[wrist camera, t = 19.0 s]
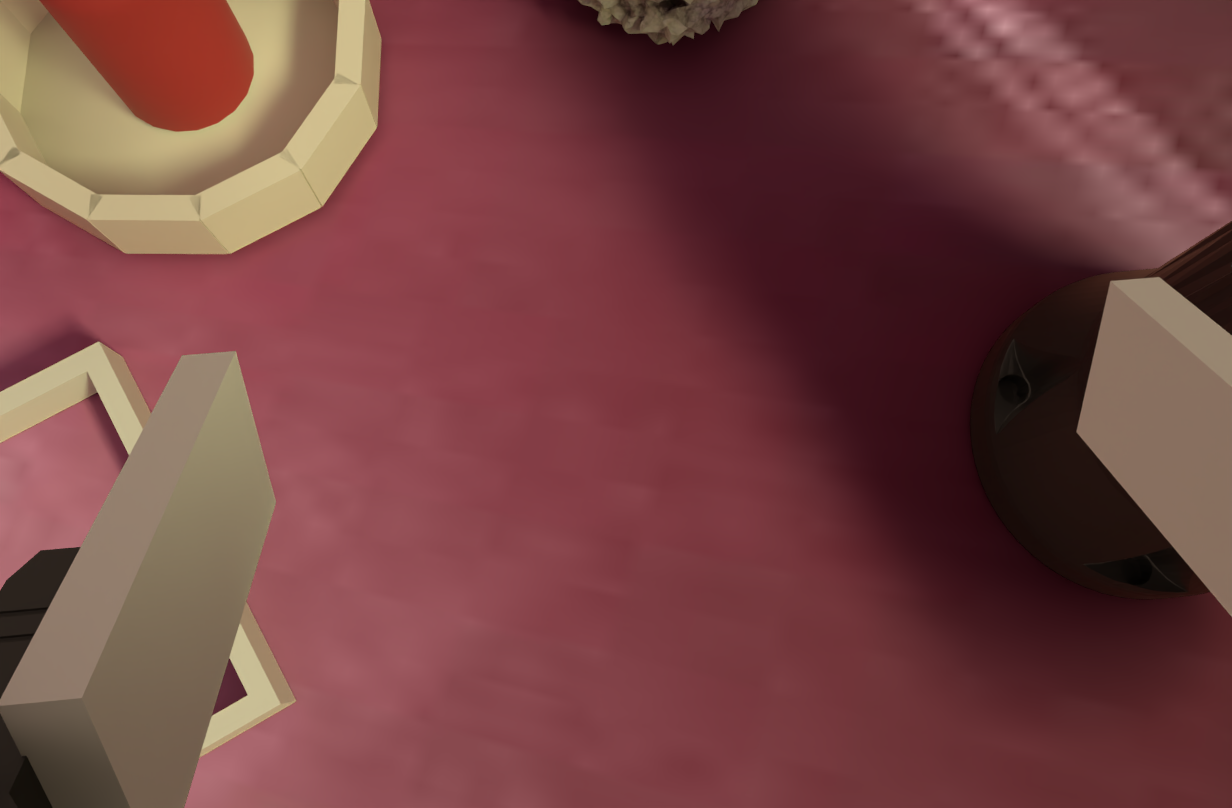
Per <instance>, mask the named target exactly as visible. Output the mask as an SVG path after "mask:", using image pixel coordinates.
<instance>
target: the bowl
mask: <svg viewBox="0 0 1232 808" xmlns="http://www.w3.org/2000/svg"><path fill="white" fill-rule="evenodd" d="M226 1H227V2H228V4H229V6H230V8H231V10H232V12H233V14H234V15H235V17H236V19H237V21H238V23H239V25H240V26H241V28H242V30H243V32H244V34H245V36H246V37H247V40H248V42H249V45H250V48H251V50H252V53H253V55H254V76H253V79H252V82H251V85H250V88H249V91H248V94H247V96H246V97H245V98H244V99H243V101H242V102H241V103H240V105H239V106H238V107H237V109H236V110H235V111H234V112H233V113H231V114H230V115H228V116H227V117H226V118H224V119H223V120H221V121H220V122H219V123H217V124H214V125H211V126H208V127H206V128H203V129H200V130H196V131H181V132H175V131H170V130H166V129H161V128H157V127H153V126H151V125H150V124H148V123H146V122H145V121H143V120H141V119H140V118H138V117H136V116H135V115H134V114H133V112H132V111H131V110H130V109H129V108H128V107H127V105H126V104H125V103H124V102H123V101H122V99H121V98H120V97H119V96H118V95H117V93H116V92H115V91H114V90H113V89H112V87H111V86H110V85H109V84H108V83H107V81H106V80H105V79H104V78H103V77H102V75H101V74H100V73H99V72H98V71H97V69H96V68H95V67H94V66H93V65H92V63H91V62H90V61H89V60H88V59H87V57H86V56H85V55H84V54H83V53H82V51H81V50H80V49H79V48H78V47H77V45H76V44H75V43H74V42H73V41H72V39H71V38H70V37H69V36H68V34H67V33H66V32H65V31H64V30H63V28H62V27H61V26H60V25H59V24H58V22H57V21H56V20H55V19H54V18H53V16H52V15H51V14H50V13H49V12H48V10H47V9H46V8H45V7H44V6H43V4H42V3H41V2H40V1H39V0H0V172H2V173H3V174H4V175H5V176H6V177H8V178H9V179H10V180H11V181H12V182H14V183H15V184H16V185H17V186H18V187H20V188H21V189H22V190H23V191H24V192H26V193H27V194H28V195H29V196H31V197H32V198H33V199H34V200H35V201H37V202H38V203H39V204H40V205H41V206H43V207H45V208H47V209H48V210H50V211H52V212H54V213H55V214H57V215H59V216H61V217H62V218H64V219H66V220H68V221H69V222H71V223H73V224H75V225H76V226H78V227H80V228H82V229H83V230H85V231H87V232H89V233H90V234H92V235H94V236H96V237H97V238H99V239H101V240H103V241H104V242H106V243H108V244H110V245H111V246H113V247H115V248H117V249H118V250H120V251H122V252H123V253H126V254H229V253H230V254H231V253H233V252H235V251H237V250H239V249H241V248H243V247H245V246H247V245H249V244H251V243H252V242H254V241H256V240H258V239H260V238H262V237H264V236H266V235H268V234H270V233H272V232H274V231H276V230H278V229H280V228H282V227H284V226H286V225H288V224H290V223H292V222H294V221H296V220H298V219H300V218H302V217H304V216H306V215H307V214H309V213H311V212H313V211H315V210H317V209H319V208H321V206H323V205H324V204H325V202H326V201H327V199H328V198H329V196H330V195H331V194H332V192H333V191H334V189H335V188H336V186H337V185H338V183H339V182H340V181H341V179H342V178H343V176H344V175H345V173H346V172H347V170H348V169H349V167H350V166H351V165H352V163H353V162H354V160H355V159H356V157H357V156H358V154H359V153H360V151H361V150H362V149H363V147H364V146H365V144H366V143H367V141H368V140H369V138H370V137H371V136H372V134H373V133H374V131H375V130H376V128H377V120H378V100H379V79H380V59H381V36H380V33H379V30H378V27H377V24H376V20H375V17H374V14H373V11H372V8H371V5H370V2H369V0H226Z"/></svg>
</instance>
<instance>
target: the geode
mask: <svg viewBox="0 0 1232 808" xmlns="http://www.w3.org/2000/svg"><path fill="white" fill-rule="evenodd" d="M578 1H579V2H580V3H581V4H582V5H586V6H590V7H592V8H594V9H595V10H597V11H598V12H599V13H598V19H596V20H598V22H599V23H600V24H601V25H609V24H610V23H618V24H622V26H623V28H624V30H625V31H626V32H627V33H628V34H639V33H641V34H648V36H649V37H650V38H651V39H652V40H653V41H654V42H655V43H656V44H658V45H659V44H663V43H666V42H669V44H670V43H671V42H672V45H674V44H675V43H676V42H677V41H678V40H679V39H680V38H681V37H683V36H684V35H685V36H687V37H690V38H693V39H694V32H695V33H698V34H701V35H702V34H703V33H705V32H706V31H707V30H708V29H709V28H710V23H711V20H712V22H713V23H714V25H715V27H716V29H717V30H718V32H719V30H720V28H721V26H722V24H723V21H724V20H728V19H732V18H736V17H738V16H739V15H740V13H741V11H744V10H746V9H748V8H750V7H752V6H754V5H756V4H757V2H758V0H578Z"/></svg>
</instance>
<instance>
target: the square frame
mask: <svg viewBox="0 0 1232 808" xmlns="http://www.w3.org/2000/svg"><path fill="white" fill-rule="evenodd" d="M97 392H98V394H99V396H100V398H101V400H102V402H103V404H104V406H105V408H106V410H107V412H108V414H109V416H110V418H111V420H112V422H113V424H114V426H115V428H116V430H117V432H118V434H119V436H120V438H121V440H122V442H123V444H124V446H125V448H126V450H127V452H128V454H129V455H130V453H131V451H132V449H133V447H134V445H135V444H136V442H137V440H138V438H139V436H140V434H141V432H142V430H143V428H144V427H145V425H146V423H147V421H148V419H149V417H150V415H151V412H150V410H149V408H148V406H147V404H146V402H145V400H144V398H143V396H142V394H141V392H140V390H139V388H138V386H137V384H136V382H135V380H134V378H133V376H132V375H131V373H130V371H129V369H128V367H127V365H126V363H125V361H124V359H123V357H122V356H121V355H119V354H118V353H116V352H114V351H113V350H111V349H110V348H108V347H107V346H105V345H104V344H102V343H101V342H97V343H95V344H93V345H91V346H89V347H87V348H85V349H83V350H81V351H79V352H77V353H75V354H73V355H71V356H69V357H67V358H66V359H64V360H62V361H60V362H58V363H56V364H54V365H52V366H50V367H48V368H46V369H44V370H42V371H40V372H38V373H36V374H34V375H32V376H30V377H28V378H26V379H25V380H23V381H21V382H19V383H17V384H15V385H13V386H11V387H9V388H7V389H5V390H3V391H1V392H0V443H1V442H3V441H5V440H7V439H9V438H11V437H13V436H15V435H16V434H18V433H20V432H22V431H24V430H26V429H28V428H30V427H32V426H34V425H36V424H38V423H40V422H41V421H43V420H45V419H47V418H49V417H51V416H53V415H55V414H57V413H59V412H61V411H63V410H65V409H66V408H68V407H70V406H72V405H74V404H76V403H78V402H80V401H82V400H84V399H86V398H88V397H90V396H91V395H93V394H95V393H97ZM229 658H230V660H231V662H232V664H233V666H234V668H235V670H236V672H237V674H238V676H239V678H240V680H241V682H242V684H243V686H244V688H245V690H246V692H247V694H248V695H247V696H245V697H244V698H242V699H240V700H239V701H237V702H235V703H233V704H232V705H230V706H228V707H226V708H225V709H223V710H221V711H219V712H218V713H216V714H214V715H213V716H212V717H211V720H210V723H209V727H208V730H207V733H206V737H205V740H204V743H203V747H202V750H201V753H200V757H201V756H203V755H205V754H207V753H208V752H210V751H212V750H213V749H215V748H217V747H219V746H220V745H222V744H224V743H225V742H227V741H229V740H231V739H232V738H234V737H236V736H238V735H239V734H241V733H243V732H244V731H246V730H248V729H250V728H251V727H253V726H255V725H256V724H258V723H260V722H262V721H263V720H265V719H267V718H268V717H270V716H272V715H274V714H275V713H277V712H279V711H280V710H282V709H284V708H286V707H287V706H289V705H291V704H293V703H294V702H296V699H295V697H294V695H293V693H292V691H291V689H290V688H289V686H288V684H287V682H286V680H285V678H284V676H283V674H282V672H281V670H280V668H279V666H278V664H277V662H276V660H275V658H274V656H273V654H272V652H271V650H270V648H269V646H268V644H267V642H266V640H265V638H264V636H263V634H262V632H261V630H260V628H259V626H258V624H257V622H256V620H255V618H254V616H253V614H252V612H251V610H250V608H249V606H248V604H247V602H246V604H245V607H244V610H243V614H242V617H241V620H240V624H239V627H238V630H237V634H236V637H235V640H234V644H233V647H232V650H231V654H230V657H229ZM200 757H199V758H200Z"/></svg>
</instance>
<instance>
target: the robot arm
mask: <svg viewBox="0 0 1232 808" xmlns="http://www.w3.org/2000/svg"><path fill="white" fill-rule="evenodd" d="M970 430H971V443H972V450H973V455H974V460H975V464H976V468H977V471H978V474H979V477H980V480H981V483H982V485H983V488H984V490H985V492H986V494H987V496H988V498H989V500H990V502H991V504H992V506H993V508H994V509H995V511H996V513H997V514H998V516H999V517H1000V519H1001V520H1002V522H1003V523H1004V525H1005V526H1006V527H1007V529H1008V530H1009V531H1010V532H1011V533H1012V535H1013V536H1014V537H1015V538H1016V539H1017V540H1018V541H1019V542H1020V543H1021V545H1022V546H1023V547H1024V548H1025V549H1027V550H1028V551H1029V552H1030V553H1031V554H1032V555H1033V556H1034V557H1036V558H1037V559H1038V560H1039V561H1041V562H1042V563H1043V564H1044V565H1046V566H1047V567H1049V568H1050V569H1052V570H1053V571H1055V572H1056V573H1058V574H1060V575H1061V576H1063V577H1065V578H1067V579H1069V580H1071V581H1073V582H1074V583H1077V584H1079V585H1081V586H1084V587H1086V588H1089V589H1092V590H1095V591H1097V592H1101V593H1104V594H1108V595H1112V596H1118V597H1123V598H1132V599H1163V598H1174V597H1184V596H1192V595H1198V594H1202V593H1207V592H1211V593H1212V594H1213V595H1214V596H1215V597H1216V599H1217V600H1218V601H1219V602H1220V603H1221V605H1222V606H1223V607H1224V608H1225V609H1226V611H1227V612H1228V613H1229V614H1230V615H1231V616H1232V221H1231V222H1229V223H1228V224H1226V225H1225V226H1223V227H1221V228H1220V229H1218V230H1217V231H1215V232H1214V233H1212V234H1211V235H1209V236H1207V237H1206V238H1204V239H1203V240H1201V241H1200V242H1198V243H1196V244H1195V245H1193V246H1192V247H1190V248H1189V249H1187V250H1186V251H1184V252H1182V253H1181V254H1179V255H1178V256H1176V257H1175V258H1173V259H1172V260H1170V261H1168V262H1167V263H1165V264H1164V265H1162V266H1161V267H1159V268H1154V269H1143V270H1133V271H1121V272H1112V273H1106V274H1100V275H1096V276H1092V277H1088V278H1085V279H1083V280H1080V281H1077V282H1074V283H1072V284H1070V285H1067V286H1065V287H1063V288H1061V289H1059V290H1057V291H1055V292H1053V293H1052V294H1050V295H1048V296H1047V297H1045V298H1044V299H1042V300H1041V301H1040V302H1038V303H1037V304H1036V305H1034V306H1033V307H1032V308H1030V309H1029V310H1028V311H1026V312H1025V313H1024V314H1022V315H1021V316H1020V317H1019V318H1017V319H1016V320H1015V321H1014V322H1013V323H1012V324H1011V325H1010V326H1009V327H1008V328H1007V329H1006V330H1005V331H1004V332H1003V333H1002V335H1001V336H1000V337H999V339H998V340H997V341H996V343H995V344H994V346H993V347H992V349H991V350H990V352H989V354H988V355H987V357H986V359H985V361H984V363H983V365H982V368H981V370H980V373H979V376H978V378H977V381H976V385H975V389H974V393H973V399H972V405H971V417H970ZM275 504H276V500H275V497H274V493H273V489H272V485H271V482H270V478H269V474H268V470H267V467H266V463H265V459H264V455H263V452H262V448H261V444H260V440H259V437H258V433H257V429H256V425H255V422H254V418H253V414H252V411H251V407H250V403H249V399H248V396H247V392H246V388H245V384H244V381H243V377H242V373H241V369H240V366H239V362H238V358H237V354H236V351H232V352H219V353H207V354H194V355H182V357H181V358H180V360H179V362H178V364H177V366H176V368H175V370H174V372H173V374H172V376H171V377H170V379H169V381H168V383H167V385H166V387H165V389H164V391H163V393H162V394H161V396H160V398H159V400H158V402H157V404H156V406H155V408H154V410H153V411H152V413H151V415H150V417H149V419H148V421H147V423H146V425H145V427H144V428H143V430H142V432H141V434H140V436H139V438H138V440H137V442H136V444H135V445H134V447H133V449H132V451H131V453H130V455H129V457H128V459H127V461H126V462H125V464H124V466H123V468H122V470H121V472H120V474H119V476H118V478H117V479H116V481H115V483H114V485H113V487H112V489H111V491H110V493H109V495H108V496H107V498H106V500H105V502H104V504H103V506H102V508H101V510H100V512H99V513H98V515H97V517H96V519H95V521H94V523H93V525H92V527H91V529H90V530H89V532H88V534H87V536H86V538H85V540H84V542H83V544H82V546H81V547H76V548H64V549H53V550H42V551H40V552H39V553H37V554H36V555H35V556H34V557H33V558H32V559H31V560H29V561H28V562H27V563H26V564H25V565H24V566H23V567H21V568H20V569H19V570H18V571H17V572H16V573H14V574H13V575H12V576H11V577H10V578H9V579H8V580H6V582H5V584H4V585H3V587H2V589H1V590H0V808H184V806H185V803H186V800H187V796H188V793H189V790H190V786H191V783H192V780H193V777H194V773H195V770H196V767H197V763H198V760H199V757H200V753H201V750H202V747H203V743H204V740H205V737H206V733H207V730H208V727H209V723H210V720H211V717H212V713H213V710H214V707H215V703H216V700H217V697H218V694H219V690H220V687H221V684H222V680H223V677H224V674H225V670H226V667H227V664H228V660H229V657H230V654H231V650H232V647H233V644H234V640H235V637H236V634H237V630H238V627H239V624H240V620H241V617H242V614H243V610H244V607H245V604H246V601H247V597H248V594H249V591H250V587H251V584H252V581H253V577H254V574H255V571H256V567H257V564H258V561H259V557H260V554H261V551H262V547H263V544H264V541H265V537H266V534H267V531H268V527H269V524H270V521H271V517H272V514H273V511H274V508H275Z"/></svg>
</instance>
